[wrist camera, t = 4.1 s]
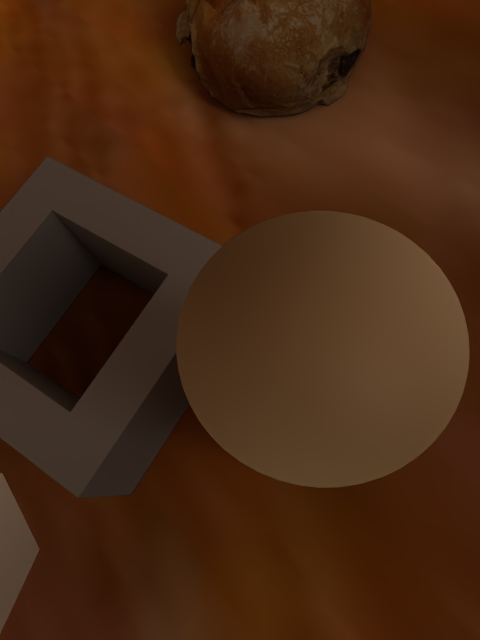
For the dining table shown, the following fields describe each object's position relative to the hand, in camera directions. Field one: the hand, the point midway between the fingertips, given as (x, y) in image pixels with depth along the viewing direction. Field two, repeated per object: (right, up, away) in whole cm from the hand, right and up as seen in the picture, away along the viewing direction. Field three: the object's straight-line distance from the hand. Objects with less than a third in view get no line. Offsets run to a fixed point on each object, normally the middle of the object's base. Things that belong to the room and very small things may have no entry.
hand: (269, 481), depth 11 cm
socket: (-7, +3, +11) cm, 13 cm away
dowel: (+2, -1, +8) cm, 8 cm away
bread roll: (+1, +19, +16) cm, 25 cm away
